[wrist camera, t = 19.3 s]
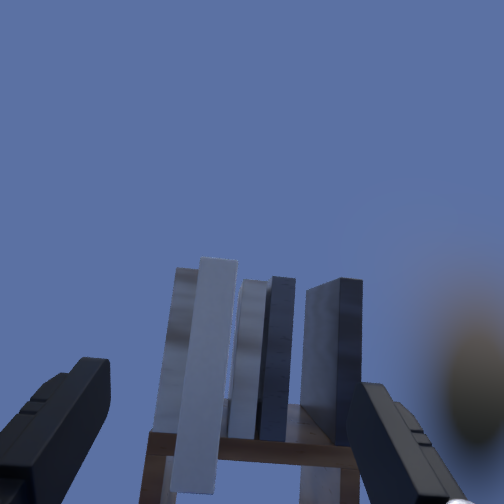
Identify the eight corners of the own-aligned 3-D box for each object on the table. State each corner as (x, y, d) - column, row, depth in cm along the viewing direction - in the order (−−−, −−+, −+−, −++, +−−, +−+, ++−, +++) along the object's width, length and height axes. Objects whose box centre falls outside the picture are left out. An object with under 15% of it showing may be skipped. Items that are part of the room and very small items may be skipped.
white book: (213, 496, 16) (238, 260, 18) (169, 492, 15) (200, 255, 18) (221, 398, 35) (233, 291, 38) (202, 396, 35) (214, 289, 38)
